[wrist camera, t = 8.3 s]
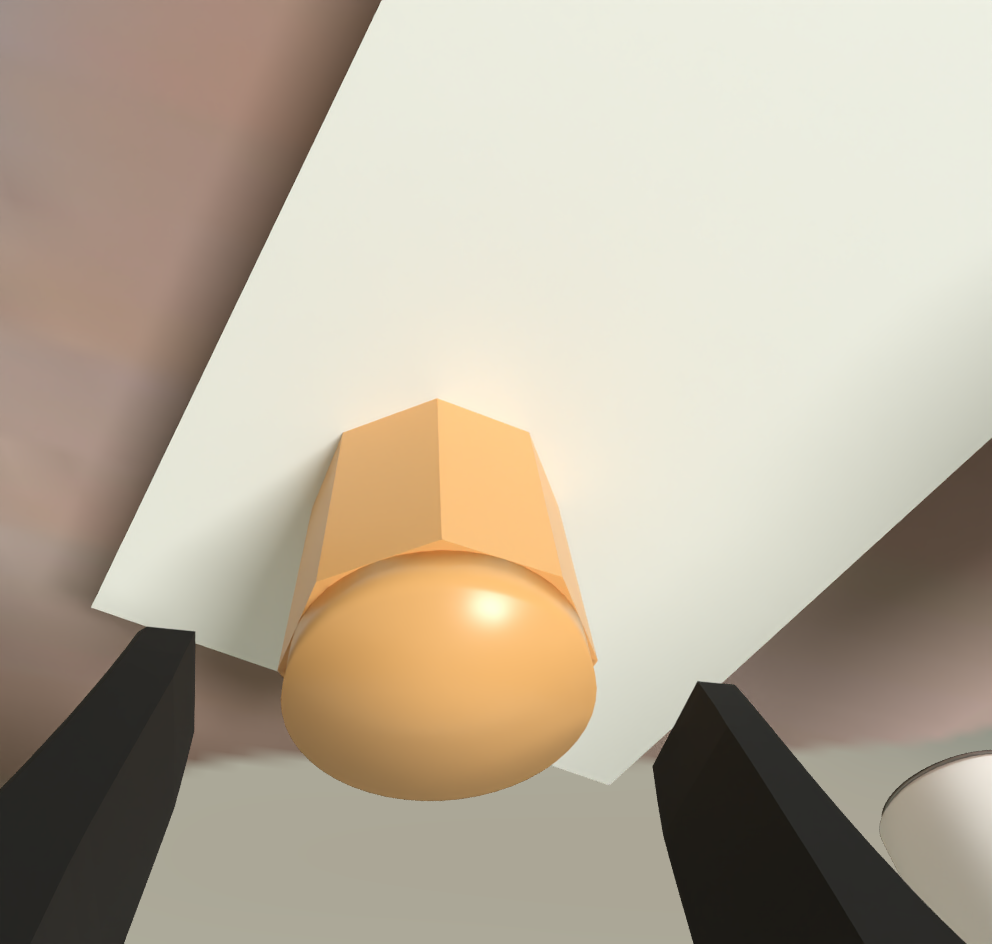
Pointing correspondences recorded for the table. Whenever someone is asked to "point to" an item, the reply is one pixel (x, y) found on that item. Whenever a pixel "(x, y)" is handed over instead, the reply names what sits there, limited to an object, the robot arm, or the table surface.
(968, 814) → the can
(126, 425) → the table surface
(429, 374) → the junction box
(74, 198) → the table surface
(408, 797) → the cap
